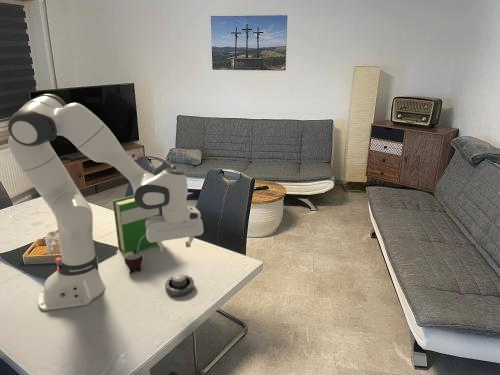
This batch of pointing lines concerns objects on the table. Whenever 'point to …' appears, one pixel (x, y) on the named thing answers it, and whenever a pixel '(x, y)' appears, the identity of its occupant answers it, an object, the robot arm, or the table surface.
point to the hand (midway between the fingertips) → (175, 248)
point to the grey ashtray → (179, 292)
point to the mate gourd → (134, 259)
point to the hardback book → (132, 224)
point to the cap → (179, 281)
